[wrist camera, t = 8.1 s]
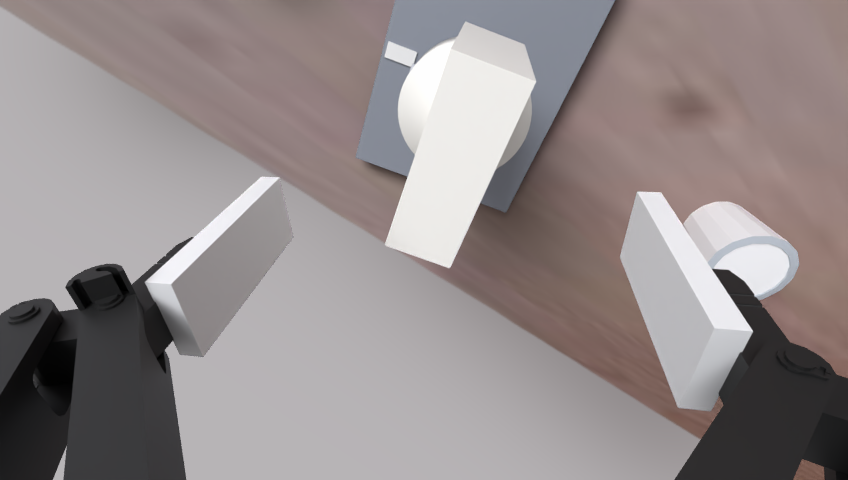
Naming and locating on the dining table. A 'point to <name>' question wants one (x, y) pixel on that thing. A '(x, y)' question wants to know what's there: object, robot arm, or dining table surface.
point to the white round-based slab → (458, 136)
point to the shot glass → (743, 247)
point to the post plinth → (502, 14)
